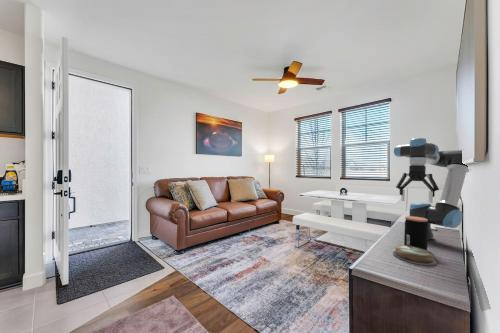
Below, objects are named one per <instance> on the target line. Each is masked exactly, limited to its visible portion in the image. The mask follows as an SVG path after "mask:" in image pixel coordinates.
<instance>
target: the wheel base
mask: <svg viewBox="0 0 500 333" xmlns="http://www.w3.org/2000/svg"><path fill="white" fill-rule="evenodd" d="M392 255H393V256H394V257H395V258H397V259H399V260H401V261H404V262H406V263H410V264H413V265H418V266H424V267H425V266H428V267H429V266H431V267H432V266H435V265H437V261H436V259H435V258H434V261H433V262H432V263H419V262H414V261H410V260H407V259H404V258H401V257H399V256H398V255H396V250H394V251H393V252H392Z"/></svg>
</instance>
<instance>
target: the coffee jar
mask: <svg viewBox="0 0 500 333" xmlns="http://www.w3.org/2000/svg"><path fill="white" fill-rule="evenodd" d="M404 218H405V220H404V235H403V236H404V238H403V239H404V243H403V244H404V245H406V246H407V235H410V246H414V247H418V248H422V249H425V250H428V240H427V236H428V224H427V222H428V219H425V218H421V217H414V216H410V215H406V216H404Z"/></svg>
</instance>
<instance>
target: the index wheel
mask: <svg viewBox="0 0 500 333" xmlns="http://www.w3.org/2000/svg"><path fill="white" fill-rule="evenodd" d="M395 251H396V255H398V256H399V257H401V258H404V259H407V260H410V261H414V262H419V263H432V262H433V261H434V259H435V257H434V256H435V255H434V253H433V252H432V251H430V250H428V249H427V250H425V249H422V248H418V247H414V246H410V235H407V246H406V245H401V244H399V245H396V246H395Z"/></svg>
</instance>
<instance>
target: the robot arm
mask: <svg viewBox="0 0 500 333" xmlns="http://www.w3.org/2000/svg"><path fill="white" fill-rule="evenodd" d="M462 150H463V149H460V150H459V149H458V150H457V149H456V150H440V148H439V146H438V145H437V144H435V143H432V142H431V143H429V142H427V139H426V138H424V137H418V138H411V139H410V140H409V144H400V145H396V146H394V148H393V153H394V155H395V157H397V158H398V157H400V158H402V157H403V158H404V157H405V158H409V166H408V167H409V168H408V170H409V171H408V173H406V172H403V173H402V175H401V176H402V177H401V178H400V179H399V181H398V183H397V184H396V186H395V188H396V189H399V195H400V196H401V197H400V198H401V199H400V200H401V201H402V202H405V193H406V192H405V191H406V190H405V188H406V187H407V186H408V185H409V184H411V182H422V183H423V184H424V185H425V186H426V188H428V189H429V190H428V202H425V203H424V202H416V203H415V202H413V203H411V204H410V205H409V216H414V217H421V218H425V219H428V222H427V224H428V236H427V239H433V238H434V236H435V235H434V233H433V229H432V227H431V225H435V226H439V227H440V226H441V227H444V228H449V229H455V228H457V227H459V226H460V225H461V223H462V221H463V212H462V211H461V210H460V207H459V206H458V204H459V201H460V197H461V193H462V189H463V185H464V182H465V178H466V175H467V173H470V171H469V169H468V166H467V165H465V164H463V163H462ZM427 164H428V165H431V166H435V167H441V168H446V169H447V170H448V171H447V174H446V175H447V176H446V178H445V182H444V186H443V188H442V192H441V196H440V199H439V201H437V202H436V203H435V205H432V204H433V203H434V202H433V201H434V200H433V198H434V197H435V195H436V194H435V193H436V191H440V190H439V186H438V184H437V183H436V181H435V180H434V178H433V174H432V173H427V172H426V170H427V168H426V167H427V166H426V165H427ZM407 177H409V178H407ZM426 177H427V179H428V180H429V182H430V183H429V182H428V181H427V179H426ZM406 178H407V180H406ZM405 180H406V181H405ZM404 181H405V182H404ZM434 239H435V238H434ZM434 239H433V240H434Z"/></svg>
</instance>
